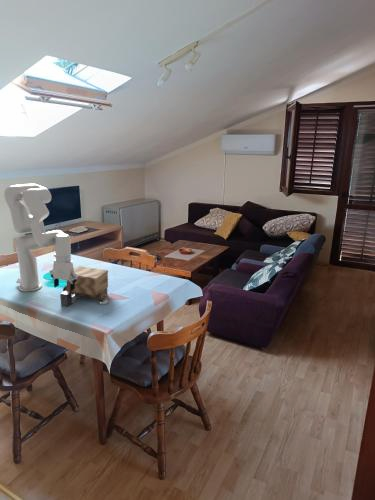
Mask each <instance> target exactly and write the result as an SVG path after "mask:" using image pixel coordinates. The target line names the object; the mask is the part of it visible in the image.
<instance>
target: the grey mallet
mask: <svg viewBox="0 0 375 500" xmlns="http://www.w3.org/2000/svg"><path fill="white" fill-rule="evenodd" d="M59 295H60V306H61V307H65V306H66V307H65V308H68V307H70V306H71V305H73V302H74V303H75V301H77V300H78V299H79V298H81V296H80V294H78V293H76V294H71V292H69V291H64V292H63V291H62V292H60V294H59ZM69 305H70V306H69Z"/></svg>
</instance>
